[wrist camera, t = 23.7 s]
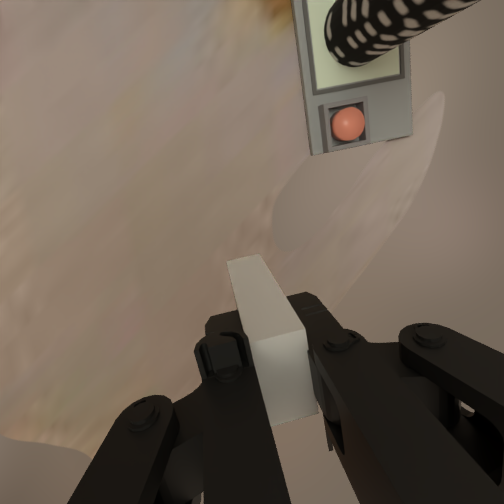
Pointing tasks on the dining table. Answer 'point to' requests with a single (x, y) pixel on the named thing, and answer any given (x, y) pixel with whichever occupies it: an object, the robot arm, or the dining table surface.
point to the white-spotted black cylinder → (381, 25)
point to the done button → (347, 124)
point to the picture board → (349, 85)
